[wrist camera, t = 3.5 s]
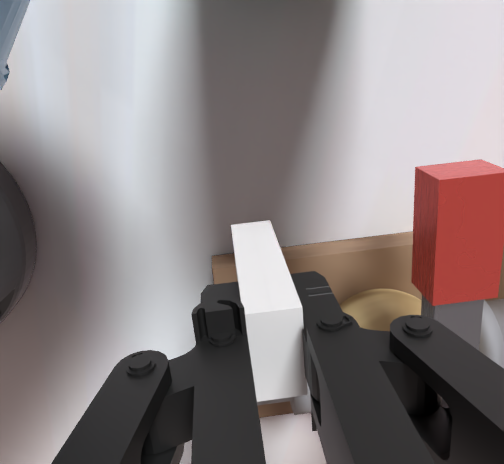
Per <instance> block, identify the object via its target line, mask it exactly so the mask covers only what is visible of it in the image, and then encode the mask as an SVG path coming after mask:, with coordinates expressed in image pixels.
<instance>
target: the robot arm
mask: <svg viewBox="0 0 504 464" xmlns="http://www.w3.org/2000/svg"><path fill="white" fill-rule="evenodd" d="M29 2H30V0H0V90H2V88H3V86H4V84H5V83H6V81H7V78H8V75H9V72H10V71H9V68H8V65H7V59H8V56H9V54H10V51H11V49H12V46H13V43H14V41H15V38H16V36H17V33H18V31H19V28H20V25H21V23H22V20H23V18H24V15H25V12H26V10H27V7H28V5H29ZM231 230H232V239H233V247H234V256H235V264H236V273H237V281H238V282H230V283H222V284H213V285H207V287H206V288H205V289H204V290H203V292H202V293H201V303H200V304H199V305H198V306H196V307H195V308H194V309H193V312H192V320H193V327H194V333H195V339H196V346H195V347H194V348H193V349H192V350H191V351H189V352H188V353H186V354H184V355H182V356H180V357H177V358H174V359H171V360H168V359H167V357H166V355H164V354H163V353H161V352H159V351H152V350H148V351H140V352H137V353H133V354H131V355H129V356H127V357H125V358H124V359H122V360H121V361H120V362H119V363H118V364H117V365H116V366H115V367H114V369H113V370H112V372H111V373H110V375H109V376H108V378H107V379H106V381H105V383H104V384H103V386H102V387H101V389H100V390H99V392H98V393H97V395H96V396H95V398H94V399H93V401H92V402H91V404H90V405H89V407H88V408H87V410H86V412H85V413H84V415H83V416H82V418H81V419H80V421H79V422H78V424H77V425H76V427H75V428H74V430H73V431H72V433H71V434H70V436H69V437H68V439H67V440H66V442H65V444H64V445H63V447H62V448H61V450H60V451H59V453H58V454H57V456H56V457H55V459H54V460H53V462H52V463H51V464H179V463H180V460H181V457H182V454H183V450H184V443H185V442H188V441H190V440H192V461H191V464H266V461H265V454H264V448H263V441H262V434H261V427H260V420H259V413H258V406H257V402H259V401H267V400H274V399H281V398H289V397H296V396H303V395H308V390H307V383H308V386H309V390H310V398H311V415H312V431H317V430H318V434H319V437H320V441H321V444H322V448H323V451H324V455H325V458H326V462H327V464H504V368H502V367H501V366H499V365H498V364H497V363H495V362H494V361H492V360H491V359H490V358H488V357H487V356H486V355H484V354H483V353H481V352H480V351H479V350H477V349H476V348H475V347H473V346H472V345H470V344H469V343H468V342H466V341H465V340H463V339H462V338H461V337H459V336H458V335H457V334H455V333H454V332H452V331H451V330H450V329H448V328H447V327H445V326H444V325H443V324H441V323H440V322H438V321H436V320H434V319H432V318H429V317H426V316H422V315H406V316H401V317H398V318H396V319H394V320H393V321H392V322H391V324H390V331H379V330H370V329H365V328H361V327H360V326H359V324H358V323H357V321H356V320H355V319H354V318H353V317H352V316H351V315H349V314H346V313H344V312H343V311H342V309H341V307H340V305H339V303H338V301H337V300H336V298H335V296H334V294H333V293H332V290H331V288H330V287H329V284H328V282H327V280H326V279H325V277H324V276H322V275H321V274H319V273H317V272H316V271H309V272H301V273H293V274H290V273H289V270H288V267H287V265H286V262H285V259H284V256H283V254H282V251H281V248H280V246H279V243H278V240H277V238H276V235H275V232H274V230H273V227H272V224H271V222H270V220H268V221H259V222H251V223H242V224H234V225H231ZM35 261H36V234H35V227H34V223H33V219H32V216H31V213H30V209H29V207H28V205H27V202H26V200H25V198H24V196H23V194H22V192H21V190H20V188H19V187H18V185H17V183H16V182H15V180H14V179H13V178H12V176H11V175H10V173H9V172H8V171H7V170H6V168H5V167H4V166H3V165H2V164H1V163H0V323H1V322H2V321H3V320H4V319H5V318H6V317H7V315H8V314H9V313H10V311H11V310H12V309H13V307H14V306H15V305H16V304H17V302H18V301H19V300H20V298H21V297H22V295H23V294H24V292H25V290H26V288H27V286H28V284H29V282H30V279H31V277H32V274H33V270H34V266H35Z"/></svg>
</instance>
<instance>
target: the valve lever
mask: <svg viewBox="0 0 504 464" xmlns="http://www.w3.org/2000/svg"><path fill="white" fill-rule="evenodd" d="M503 247H504V168H501V167H499V166H496V165H494V164H491V163H488V162H486V161H483V160H472V161H463V162H455V163H446V164H437V165H428V166H420V167H415V194H414V221H413V249H412V277H411V282H412V284H413V285H414V286H415V287H416V288H417V289H418V290H419V291H420V292H421V294H422V302H421V315H422V316H426V317H429V318H432V319H434V320H436V321H438V322H440V323H441V324H443V325H444V326H445V327H447V328H448V329H450V330H451V331H452V332H454V333H455V334H457V335H458V336H459V337H461V338H462V339H463V340H465V341H466V342H468V343H469V344H470V345H472V346H473V347H475V348H476V349H477V350H479V344H480V334H481V324H482V314H483V304H484V299H490V298H497V297H498V292H499V283H500V274H501V265H502V256H503Z"/></svg>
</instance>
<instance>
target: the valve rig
mask: <svg viewBox="0 0 504 464" xmlns="http://www.w3.org/2000/svg"><path fill="white" fill-rule="evenodd" d="M412 249H413V232H405V233H396V234H388V235H380V236H372V237H363V238H355V239H347V240H339V241H331V242H322V243H314V244H306V245H298V246H290V247H281V251H282V254H283V256H284V259H285V262H286V265H287V267H288V270H289V273H290V274H293V273H301V272H309V271H316V272H317V273H319V274H321V275H322V276H324V277H325V279H326V280H327V282H328V284H329V287H330V288H331V290H332V293H333V294H334V296H335V298H336V300H337V301H338V303H339V305H340V307H341V309H342V311H343V312H344V313H346V314H349V315H351V316H352V317H353V318H354V319H355V320H356V321H357V323H358V324H359V326H360V327H361V328H365V329H370V330H379V331H390V324H391V322H392V321H393V320H394V319H396V318H398V317H401V316H406V315H421V302H422V294H421V292H420V291H419V290H418V289H417V288H416V287H415V286H414V285H413V284H412V282H411V277H412ZM212 272H213V279H214V284H222V283H230V282H238V281H237V273H236V264H235V256H234V253H232V254H224V255H216V256H212ZM479 351H480V352H481V353H483V354H484V355H486V356H487V357H488V358H490V359H491V360H492V361H494V362H495V363H497V364H498V365H499V366H501V367H502V368H504V247H503V256H502V265H501V274H500V283H499V292H498V297H497V298H490V299H484V304H483V314H482V324H481V334H480V344H479ZM307 390H308V395H303V396H296V397H289V398H281V399H274V400H267V401H259V402H257V406H258V413H259V418H261V417H268V416H275V415H282V414H289V413H294V415H297V414H304V413H311V398H310V390H309V386H308V383H307Z"/></svg>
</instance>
